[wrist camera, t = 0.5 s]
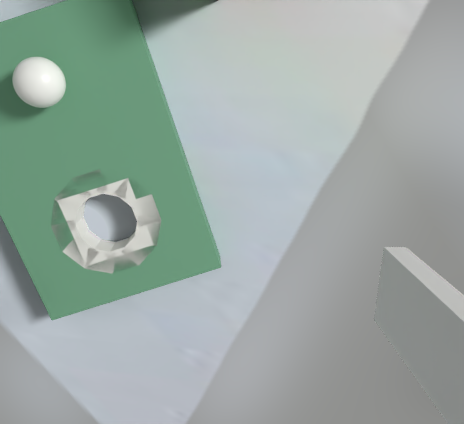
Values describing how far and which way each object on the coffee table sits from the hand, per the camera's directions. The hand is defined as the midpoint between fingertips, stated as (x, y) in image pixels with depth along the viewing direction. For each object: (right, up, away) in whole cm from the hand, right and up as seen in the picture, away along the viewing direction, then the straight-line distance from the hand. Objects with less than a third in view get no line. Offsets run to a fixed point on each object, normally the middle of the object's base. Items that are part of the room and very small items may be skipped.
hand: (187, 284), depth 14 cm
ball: (-13, +12, +18) cm, 25 cm away
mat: (-11, +7, +24) cm, 27 cm away
